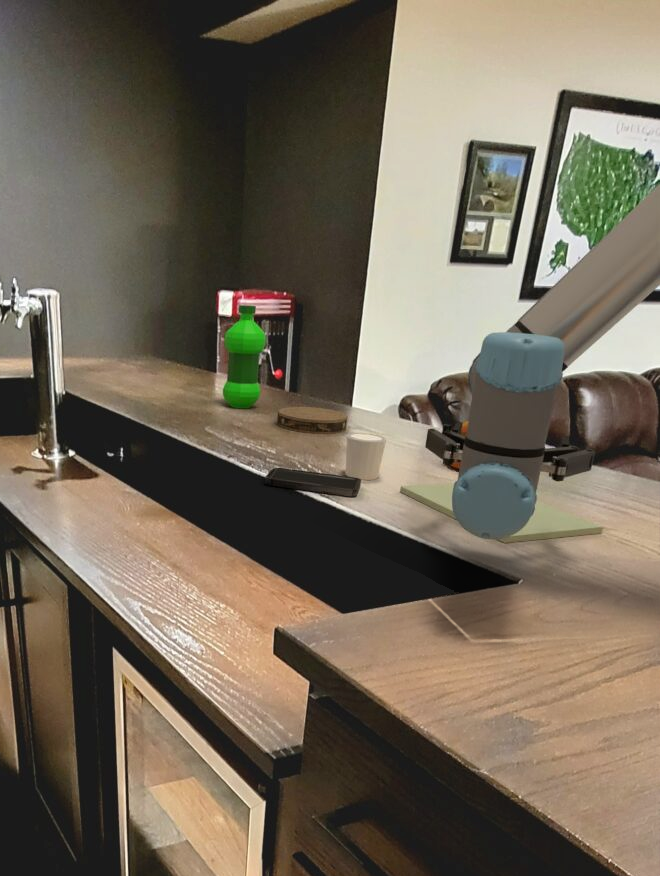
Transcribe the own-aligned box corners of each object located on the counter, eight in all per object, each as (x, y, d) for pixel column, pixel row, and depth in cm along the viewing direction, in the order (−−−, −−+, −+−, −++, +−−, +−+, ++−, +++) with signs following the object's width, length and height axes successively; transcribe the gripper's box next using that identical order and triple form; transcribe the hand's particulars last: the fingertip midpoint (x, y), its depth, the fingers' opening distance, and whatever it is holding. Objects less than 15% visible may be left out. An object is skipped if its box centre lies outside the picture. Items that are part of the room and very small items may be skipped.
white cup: (333, 473, 127) (338, 434, 125) (357, 468, 132) (362, 430, 130) (366, 483, 123) (371, 443, 120) (389, 477, 127) (394, 438, 125)
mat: (601, 533, 104) (603, 526, 104) (504, 543, 98) (505, 536, 98) (486, 486, 125) (487, 480, 125) (399, 491, 119) (400, 486, 119)
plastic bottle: (268, 407, 186) (276, 307, 178) (241, 411, 179) (249, 307, 171) (239, 401, 193) (246, 304, 185) (212, 405, 185) (218, 304, 177)
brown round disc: (316, 417, 177) (317, 405, 176) (360, 431, 164) (362, 418, 163) (263, 421, 169) (264, 408, 168) (305, 435, 156) (307, 422, 155)
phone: (274, 467, 125) (361, 478, 121) (273, 473, 125) (361, 484, 121) (263, 478, 117) (356, 490, 113) (263, 484, 118) (355, 497, 114)
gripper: (385, 485, 88) (414, 451, 106) (615, 523, 78) (602, 478, 97) (394, 424, 85) (421, 400, 104) (632, 456, 76) (616, 423, 94)
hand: (509, 438), depth 100 cm, fingers open, 13 cm apart
